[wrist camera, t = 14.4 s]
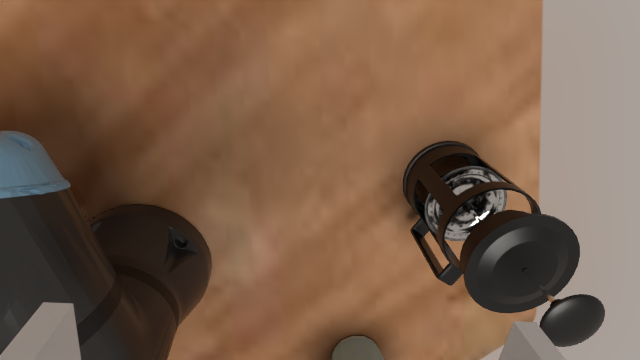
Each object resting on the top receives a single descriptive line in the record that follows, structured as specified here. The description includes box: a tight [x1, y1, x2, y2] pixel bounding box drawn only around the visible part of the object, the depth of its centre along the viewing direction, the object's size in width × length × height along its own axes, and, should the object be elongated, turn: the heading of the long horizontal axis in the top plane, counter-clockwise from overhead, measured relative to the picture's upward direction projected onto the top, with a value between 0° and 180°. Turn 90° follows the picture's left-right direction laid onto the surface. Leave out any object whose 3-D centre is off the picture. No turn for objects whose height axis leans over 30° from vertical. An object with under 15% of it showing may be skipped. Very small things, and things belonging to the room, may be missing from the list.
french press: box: [403, 141, 605, 347], centre depth 36 cm, size 12×9×23 cm
